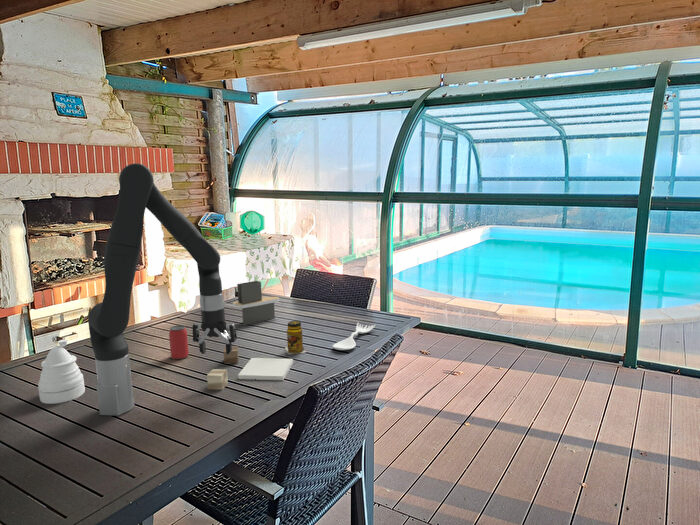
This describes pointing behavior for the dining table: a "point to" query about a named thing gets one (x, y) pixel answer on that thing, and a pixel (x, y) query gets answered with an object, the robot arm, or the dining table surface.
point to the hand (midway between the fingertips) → (216, 353)
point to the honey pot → (60, 377)
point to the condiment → (294, 338)
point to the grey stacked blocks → (254, 303)
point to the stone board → (266, 369)
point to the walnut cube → (231, 356)
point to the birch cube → (217, 379)
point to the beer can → (178, 342)
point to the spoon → (350, 342)
